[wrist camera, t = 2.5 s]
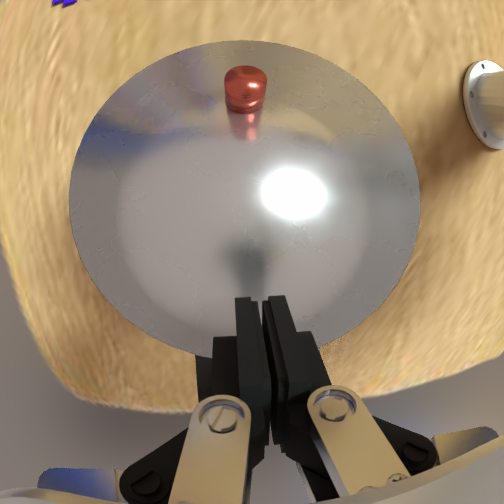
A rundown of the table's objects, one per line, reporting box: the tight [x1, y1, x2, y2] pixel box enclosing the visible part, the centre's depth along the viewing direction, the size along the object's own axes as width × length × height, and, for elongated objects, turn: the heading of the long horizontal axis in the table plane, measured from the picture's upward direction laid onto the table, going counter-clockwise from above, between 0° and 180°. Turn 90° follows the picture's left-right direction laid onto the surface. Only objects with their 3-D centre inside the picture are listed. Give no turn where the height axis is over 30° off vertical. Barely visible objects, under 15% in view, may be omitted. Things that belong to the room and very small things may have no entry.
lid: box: [69, 40, 421, 403], centre depth 13 cm, size 18×20×3 cm
